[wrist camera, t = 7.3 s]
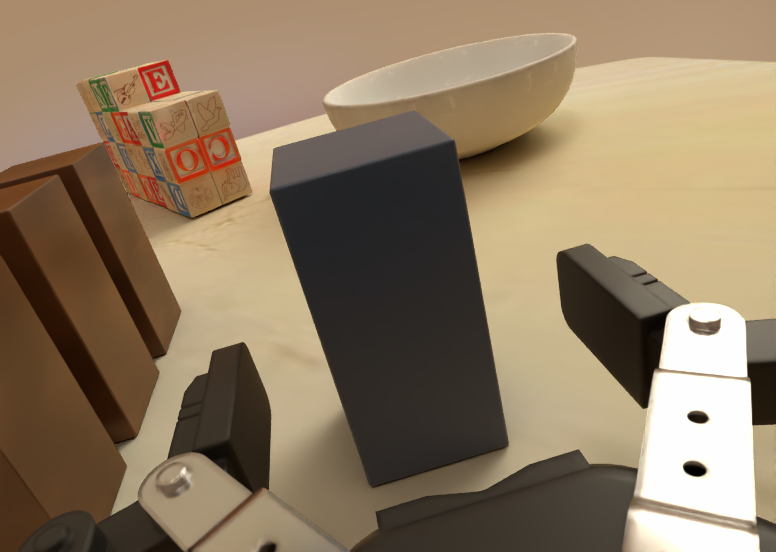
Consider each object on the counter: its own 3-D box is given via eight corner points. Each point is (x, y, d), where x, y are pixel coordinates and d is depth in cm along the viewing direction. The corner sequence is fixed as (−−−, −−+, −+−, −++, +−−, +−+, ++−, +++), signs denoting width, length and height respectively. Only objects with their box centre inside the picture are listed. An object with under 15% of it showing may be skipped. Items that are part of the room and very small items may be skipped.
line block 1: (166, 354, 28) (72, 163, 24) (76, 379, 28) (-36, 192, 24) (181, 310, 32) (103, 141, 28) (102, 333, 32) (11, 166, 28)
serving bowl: (373, 132, 61) (357, 67, 58) (574, 96, 55) (569, 21, 52) (310, 206, 44) (283, 118, 41) (595, 165, 38) (588, 58, 35)
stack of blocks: (256, 193, 51) (205, 50, 45) (192, 221, 48) (129, 71, 42) (176, 172, 67) (132, 65, 62) (124, 192, 64) (73, 81, 58)
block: (509, 446, 18) (456, 138, 13) (370, 488, 18) (267, 189, 13) (468, 365, 22) (415, 108, 18) (354, 398, 22) (272, 147, 17)
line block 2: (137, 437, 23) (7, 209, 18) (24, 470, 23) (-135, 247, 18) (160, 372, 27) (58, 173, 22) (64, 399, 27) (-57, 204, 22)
